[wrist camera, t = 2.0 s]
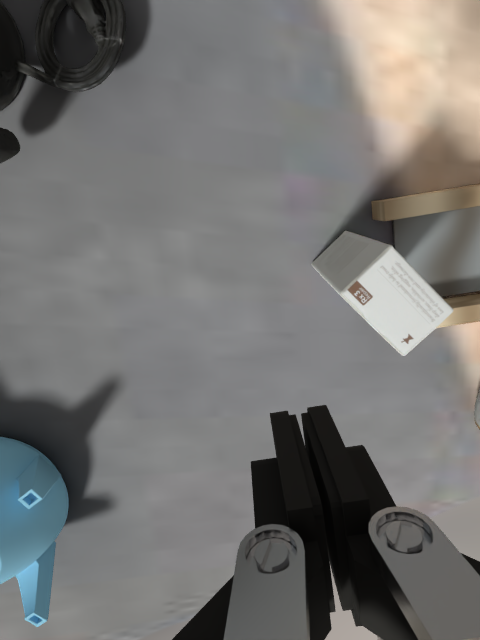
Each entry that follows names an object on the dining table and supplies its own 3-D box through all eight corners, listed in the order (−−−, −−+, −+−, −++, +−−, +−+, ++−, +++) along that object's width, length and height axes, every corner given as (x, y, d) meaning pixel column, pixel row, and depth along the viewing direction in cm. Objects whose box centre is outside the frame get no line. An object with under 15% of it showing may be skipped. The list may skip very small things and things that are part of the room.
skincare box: (389, 275, 36) (464, 310, 24) (352, 310, 37) (407, 361, 25) (342, 226, 35) (398, 239, 23) (305, 264, 35) (340, 295, 24)
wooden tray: (539, 173, 34) (567, 171, 31) (533, 300, 37) (558, 309, 34) (371, 201, 34) (384, 201, 31) (379, 324, 37) (391, 334, 34)
